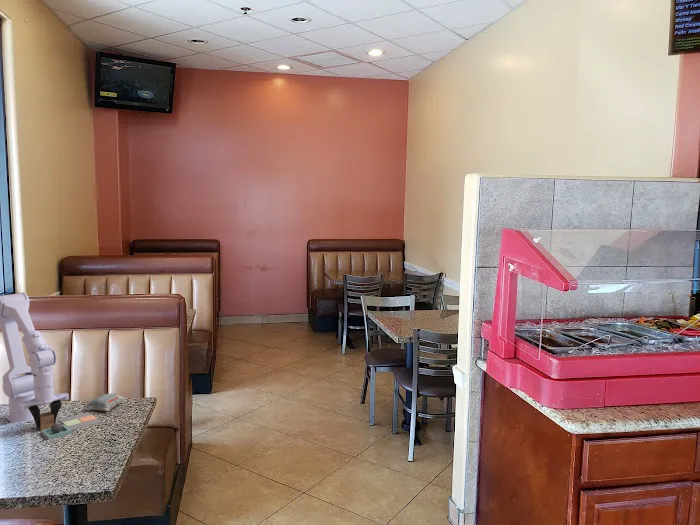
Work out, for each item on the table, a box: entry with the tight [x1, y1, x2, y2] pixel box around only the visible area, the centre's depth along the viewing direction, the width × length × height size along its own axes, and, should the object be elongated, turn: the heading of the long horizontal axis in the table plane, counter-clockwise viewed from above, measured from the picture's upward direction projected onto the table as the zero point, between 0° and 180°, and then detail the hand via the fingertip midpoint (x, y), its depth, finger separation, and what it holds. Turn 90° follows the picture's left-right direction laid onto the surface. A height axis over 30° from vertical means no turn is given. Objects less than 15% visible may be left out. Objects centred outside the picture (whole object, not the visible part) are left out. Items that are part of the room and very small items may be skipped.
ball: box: [51, 423, 62, 434], centre depth 180 cm, size 3×3×3 cm
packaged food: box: [86, 393, 127, 412], centre depth 204 cm, size 9×12×5 cm
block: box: [38, 411, 54, 431], centre depth 185 cm, size 4×4×5 cm
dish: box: [40, 424, 73, 440], centre depth 180 cm, size 7×7×2 cm
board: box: [58, 411, 103, 431], centre depth 190 cm, size 12×10×1 cm
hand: (45, 425), depth 185 cm, fingers closed on block, 4 cm apart
